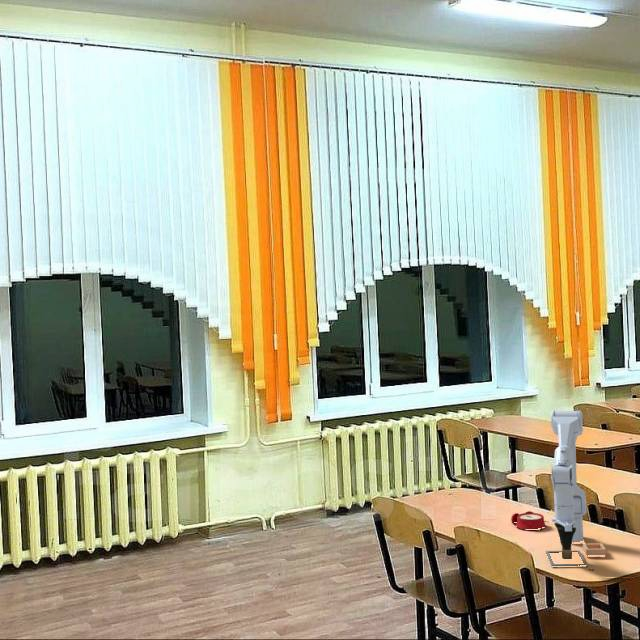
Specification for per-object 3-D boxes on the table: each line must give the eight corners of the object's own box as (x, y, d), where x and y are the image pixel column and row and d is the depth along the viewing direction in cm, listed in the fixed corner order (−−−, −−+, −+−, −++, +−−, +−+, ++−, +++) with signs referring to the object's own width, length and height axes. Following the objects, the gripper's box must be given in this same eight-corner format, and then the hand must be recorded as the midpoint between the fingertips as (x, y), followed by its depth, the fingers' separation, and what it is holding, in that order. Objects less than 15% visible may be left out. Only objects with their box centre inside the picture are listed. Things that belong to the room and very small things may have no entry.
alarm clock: (527, 523, 296) (505, 504, 310) (525, 540, 298) (504, 520, 311) (553, 519, 299) (530, 500, 313) (551, 535, 301) (529, 516, 314)
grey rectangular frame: (545, 554, 273) (545, 550, 273) (579, 554, 271) (579, 550, 271) (551, 568, 259) (551, 565, 259) (587, 568, 258) (587, 564, 258)
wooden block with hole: (583, 552, 272) (582, 543, 272) (602, 552, 272) (602, 543, 271) (586, 559, 266) (586, 549, 266) (606, 558, 266) (605, 549, 265)
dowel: (561, 556, 266) (560, 531, 265) (570, 556, 265) (569, 531, 265) (563, 559, 263) (562, 534, 262) (572, 559, 263) (571, 533, 262)
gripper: (547, 498, 271) (549, 540, 272) (554, 511, 257) (556, 555, 257) (570, 498, 270) (572, 540, 271) (578, 510, 256) (580, 555, 256)
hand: (565, 547), depth 264 cm, fingers closed on dowel, 3 cm apart
